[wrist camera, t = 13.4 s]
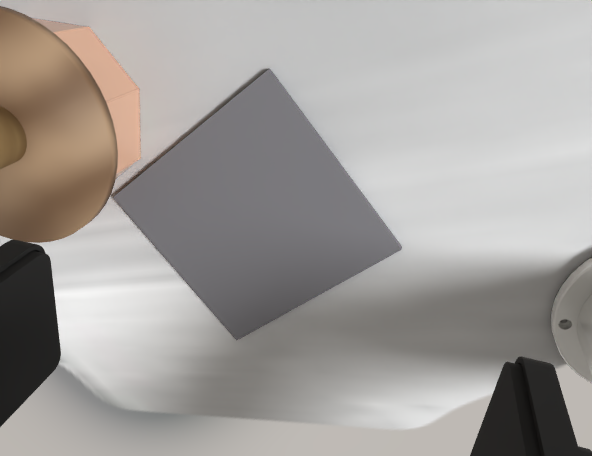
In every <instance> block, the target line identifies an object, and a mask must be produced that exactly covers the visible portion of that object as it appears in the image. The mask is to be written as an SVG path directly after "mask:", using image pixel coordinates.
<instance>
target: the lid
mask: <svg viewBox="0 0 592 456" xmlns="http://www.w3.org/2000/svg"><path fill="white" fill-rule="evenodd" d="M117 166H118V149H117V139H116V133H115V128H114V124H113V120H112V117H111V114H110V111H109V108H108V105H107V103H106V101H105V99H104V96H103V94H102V92H101V90H100V88H99V86H98V85H97V83H96V81H95V79H94V78H93V76H92V74H91V73H90V71H89V70H88V69H87V67H86V66H85V65H84V63H83V62H82V61H81V59H80V58H79V57H78V56H77V55H76V54H75V53H74V51H73V50H72V49H71V48H70V47H69V46H68V45H67V44H66V43H65V42H64V41H63V40H61V39H60V38H59V37H58V36H57V35H56V34H55V33H53V32H52V31H51V30H49V29H48V28H46V27H45V26H44V25H42V24H41V23H39V22H37V21H36V20H34V19H32V18H30V17H28V16H26V15H25V14H22V13H19V12H17V11H14V10H12V9H9V8H5V7H1V6H0V236H3V237H6V238H10V239H13V240H19V241H24V242H38V243H40V242H50V241H55V240H58V239H62V238H65V237H67V236H69V235H71V234H73V233H75V232H76V231H78V230H79V229H81V228H82V227H84V226H85V225H86V224H88V223H89V222H91V221H92V220H93V219H94V218H95V217H96V216H97V215H98V214H99V213H100V211H101V210H102V208H103V207H104V206H105V204H106V203H107V201H108V199H109V197H110V195H111V192H112V189H113V186H114V183H115V179H116V173H117Z"/></svg>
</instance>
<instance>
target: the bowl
mask: <svg viewBox="0 0 592 456" xmlns="http://www.w3.org/2000/svg"><path fill="white" fill-rule="evenodd" d="M32 19H34V18H32ZM34 20H36V21H37V22H39V23H41V24H42V25H44V26H45V27H46V28H48V29H49V30H51V31H52V32H53V33H55V34H56V35H57V36H58V37H59V38H60V39H61V40H63V41H64V42H65V43H66V44H67V45H68V46H69V47H70V48H71V49H72V50H73V51H74V53H75V54H76V55H77V56H78V57H79V58H80V59H81V61H82V62H83V63H84V65H85V66H86V67H87V69H88V70H89V71H90V73H91V74H92V76H93V78H94V79H95V81H96V83H97V85H98V86H99V88H100V90H101V92H102V94H103V96H104V99H105V101H106V103H107V105H108V108H109V111H110V114H111V117H112V120H113V124H114V128H115V133H116V139H117V149H118V166H117V173H116V178H117V177H119V176H120V175H121V174H122V173H123V172H124V171H126V170H127V169H128V168H129V167H130V166H132V165H133V164H134V163H135V162H136V161H138V160H139V159H141V153H140V103H139V90H140V89H139V88H138V87H137V86H136V84H135V83H134V82H133V81H132V79H131V78H130V77H129V76H128V75H127V73H126V72H125V71H124V70H123V68H122V67H121V66H120V65H119V63H118V62H117V61H116V60H115V58H114V57H113V56H112V55H111V54H110V52H109V51H108V50H107V49H106V47H105V46H104V45H103V44H102V42H101V41H100V40H99V39H98V37H97V36H96V35H95V34H94V33H93V31H92V30H91V29H90V27H85V26H79V25H72V24H66V23H60V22H53V21H47V20H41V19H34Z"/></svg>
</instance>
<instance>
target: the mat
mask: <svg viewBox="0 0 592 456" xmlns="http://www.w3.org/2000/svg"><path fill="white" fill-rule="evenodd" d="M113 198H114V199H115V200H116V202H117V203H118V204H119V205H120V206H121V207H122V209H123V210H124V211H125V212H126V213H127V214H128V215H129V217H130V218H131V219H132V220H133V221H134V222H135V224H136V225H137V226H138V227H139V228H140V229H141V230H142V232H143V233H144V234H145V235H146V236H147V237H148V239H149V240H150V241H151V242H152V243H153V244H154V245H155V247H156V248H157V249H158V250H159V251H160V252H161V254H162V255H163V256H164V257H165V258H166V259H167V260H168V262H169V263H170V264H171V265H172V266H173V267H174V269H175V270H176V271H177V272H178V273H179V274H180V275H181V277H182V278H183V279H184V280H185V281H186V282H187V284H188V285H189V286H190V287H191V288H192V289H193V290H194V292H195V293H196V294H197V295H198V296H199V297H200V299H201V300H202V301H203V302H204V303H205V304H206V305H207V307H208V308H209V309H210V310H211V311H212V312H213V314H214V315H215V316H216V317H217V318H218V319H219V320H220V322H221V323H222V324H223V325H224V326H225V327H226V329H227V330H228V331H229V332H230V333H231V334H232V335H233V337H234V338H235V339H236V340H238V339H240V338H242V337H243V336H245V335H247V334H249V333H251V332H252V331H254V330H256V329H258V328H260V327H262V326H263V325H265V324H267V323H269V322H271V321H272V320H274V319H276V318H278V317H280V316H282V315H283V314H285V313H287V312H289V311H291V310H292V309H294V308H296V307H298V306H300V305H302V304H303V303H305V302H307V301H309V300H311V299H312V298H314V297H316V296H318V295H320V294H322V293H323V292H325V291H327V290H329V289H331V288H332V287H334V286H336V285H338V284H340V283H342V282H343V281H345V280H347V279H349V278H351V277H352V276H354V275H356V274H358V273H360V272H362V271H363V270H365V269H367V268H369V267H371V266H372V265H374V264H376V263H378V262H380V261H382V260H383V259H385V258H387V257H389V256H391V255H392V254H394V253H396V252H398V251H400V250H401V248H402V246H401V245H400V244H399V242H398V241H397V240H396V238H395V237H394V236H393V234H392V233H391V231H390V230H389V229H388V227H387V226H386V225H385V223H384V222H383V221H382V219H381V218H380V217H379V215H378V214H377V213H376V211H375V210H374V209H373V207H372V206H371V204H370V203H369V202H368V200H367V199H366V198H365V196H364V195H363V194H362V192H361V191H360V190H359V188H358V187H357V186H356V184H355V183H354V182H353V180H352V179H351V178H350V176H349V175H348V173H347V172H346V171H345V169H344V168H343V167H342V165H341V164H340V163H339V161H338V160H337V159H336V157H335V156H334V155H333V153H332V152H331V151H330V149H329V148H328V146H327V145H326V144H325V142H324V141H323V140H322V138H321V137H320V136H319V134H318V133H317V132H316V130H315V129H314V128H313V126H312V125H311V124H310V122H309V121H308V119H307V118H306V117H305V115H304V114H303V113H302V111H301V110H300V109H299V107H298V106H297V105H296V103H295V102H294V101H293V99H292V98H291V97H290V95H289V94H288V92H287V91H286V90H285V88H284V87H283V86H282V84H281V83H280V82H279V80H278V79H277V78H276V76H275V75H274V74H273V72H272V71H271V70H270V69H268V70H267V71H266V72H265V73H263V74H262V75H261V76H260V77H258V78H257V79H256V80H255V81H254V82H252V83H251V84H250V85H249V86H248V87H246V88H245V89H244V90H243V91H241V92H240V93H239V94H238V95H237V96H235V97H234V98H233V99H232V100H231V101H229V102H228V103H227V104H226V105H224V106H223V107H222V108H221V109H220V110H218V111H217V112H216V113H215V114H214V115H212V116H211V117H210V118H209V119H207V120H206V121H205V122H204V123H203V124H201V125H200V126H199V127H198V128H197V129H195V130H194V131H193V132H192V133H190V134H189V135H188V136H187V137H186V138H184V139H183V140H182V141H181V142H180V143H178V144H177V145H176V146H175V147H173V148H172V149H171V150H170V151H169V152H167V153H166V154H165V155H164V156H163V157H161V158H160V159H159V160H158V161H156V162H155V163H154V164H153V165H152V166H150V167H149V168H148V169H147V170H146V171H144V172H143V173H142V174H141V175H139V176H138V177H137V178H136V179H135V180H133V181H132V182H131V183H130V184H129V185H127V186H126V187H125V188H124V189H122V190H121V191H120V192H119V193H118V194H116V195H115V196H114V197H113Z"/></svg>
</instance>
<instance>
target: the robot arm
mask: <svg viewBox="0 0 592 456" xmlns="http://www.w3.org/2000/svg"><path fill="white" fill-rule="evenodd" d="M551 329H552V332H553V336H554V340H555V343H556V345H557V348H558V350H559V353H560V355H561V356H562V357H563V359H564V360H565V362H566V363H567V365H568V366H569V367H570V368H572V369H573V370H574V371H575V372H576V373H577V374H578V375H579V376H581V377H582V378H584V379H586V380H587V381H589V382H590V383H592V258H590V259H589V260H587V261H585V262H584V263H583V264H582V265H581V266H579V267H578V268H577V269H576V270H575V271H574V272H573V273H571V275H570V276H569V277H568V278H567V280H566V281H565V282H564V283H563V285H562V286H561V288H560V290H559V292H558V294H557V296H556V298H555V300H554V304H553V308H552V312H551ZM60 356H61V351H60V342H59V333H58V324H57V315H56V306H55V297H54V287H53V278H52V269H51V261H50V257H49V256H48V255H47V254H45V251H44V249H43V248H42V247H41V246H39V245H36V244H32V243H28V242H23V241H19V240H11V241H8V242H7V243H5V244H3V245H2V246H0V427H1V426H2V425H3V424H4V422H5V421H6V420H7V419H8V418H9V417H10V416H11V415H12V414H13V413H14V412H15V411H16V410H17V409H18V408H19V407H20V406H21V405H22V404H23V403H24V402H25V400H26V399H27V398H28V397H29V396H30V395H31V394H32V393H33V392H34V391H35V390H36V389H37V388H38V387H39V386H40V385H41V384H42V383H43V381H45V379H47V377H48V376H49V375H50V374H51V373H52V372H53V371H54V370H55V369H56V367H57V365H58V363H59V361H60ZM470 456H592V451H591V450H590V449H586V448H582V447H578V445H577V442H576V438H575V435H574V432H573V428H572V425H571V421H570V418H569V415H568V412H567V408H566V405H565V401H564V398H563V395H562V391H561V388H560V385H559V381H558V378H557V374H556V371H555V368H554V366H553V365H552V364H550V363H546V362H542V361H537V360H533V359H529V358H524V357H518V359H517V360H516V362H515V363H511V362H506V363H505V364H504V366H503V368H502V371H501V374H500V377H499V379H498V382H497V385H496V387H495V390H494V393H493V395H492V398H491V401H490V403H489V406H488V409H487V412H486V414H485V417H484V420H483V422H482V425H481V428H480V431H479V433H478V436H477V438H476V441H475V444H474V447H473V449H472V452H471V455H470Z"/></svg>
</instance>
